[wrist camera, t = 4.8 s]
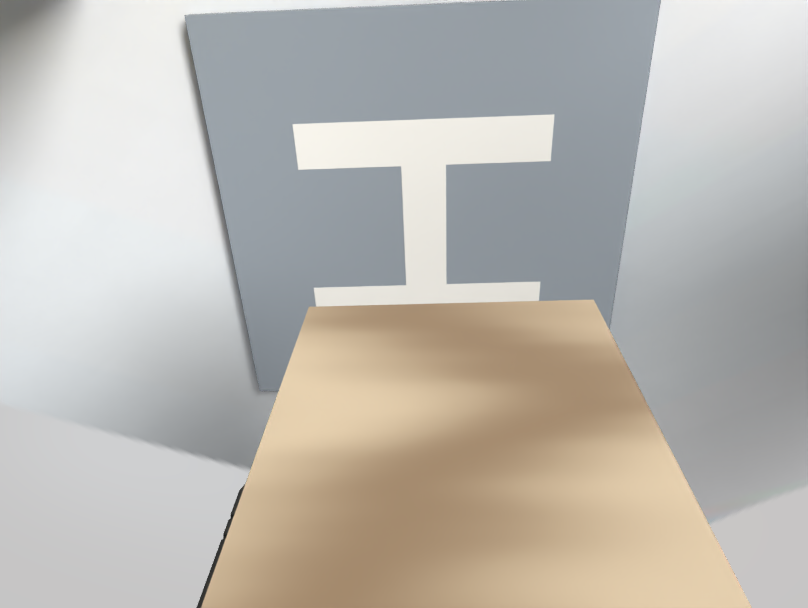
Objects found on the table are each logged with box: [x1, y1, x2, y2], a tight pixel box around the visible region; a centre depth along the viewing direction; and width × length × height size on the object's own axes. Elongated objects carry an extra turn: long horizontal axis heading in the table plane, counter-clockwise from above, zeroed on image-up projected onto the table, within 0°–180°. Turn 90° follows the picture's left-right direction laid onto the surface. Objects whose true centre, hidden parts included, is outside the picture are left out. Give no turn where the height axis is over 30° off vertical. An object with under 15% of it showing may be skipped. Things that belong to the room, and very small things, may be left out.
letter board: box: [185, 0, 661, 391], centre depth 22 cm, size 15×15×1 cm
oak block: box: [201, 300, 751, 608], centre depth 9 cm, size 5×7×6 cm
